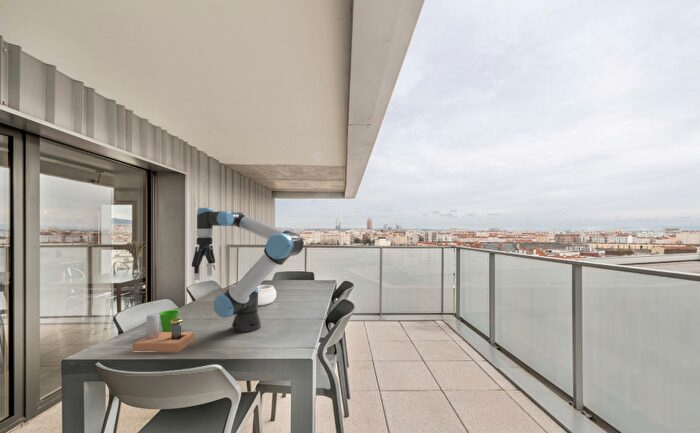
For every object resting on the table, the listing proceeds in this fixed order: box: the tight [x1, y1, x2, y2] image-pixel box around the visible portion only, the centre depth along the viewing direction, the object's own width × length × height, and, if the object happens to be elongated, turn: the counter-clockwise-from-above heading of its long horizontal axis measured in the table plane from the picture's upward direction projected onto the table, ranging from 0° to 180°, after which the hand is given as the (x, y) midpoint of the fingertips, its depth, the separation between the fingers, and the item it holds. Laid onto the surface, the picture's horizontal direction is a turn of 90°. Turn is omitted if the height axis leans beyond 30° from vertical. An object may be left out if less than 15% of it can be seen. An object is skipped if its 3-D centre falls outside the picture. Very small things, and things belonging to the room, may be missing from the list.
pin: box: [171, 317, 184, 340], centre depth 138 cm, size 5×5×12 cm
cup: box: [159, 309, 180, 332], centre depth 154 cm, size 9×9×11 cm
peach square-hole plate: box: [132, 313, 196, 353], centre depth 138 cm, size 20×14×14 cm
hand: (203, 277), depth 156 cm, fingers open, 13 cm apart
